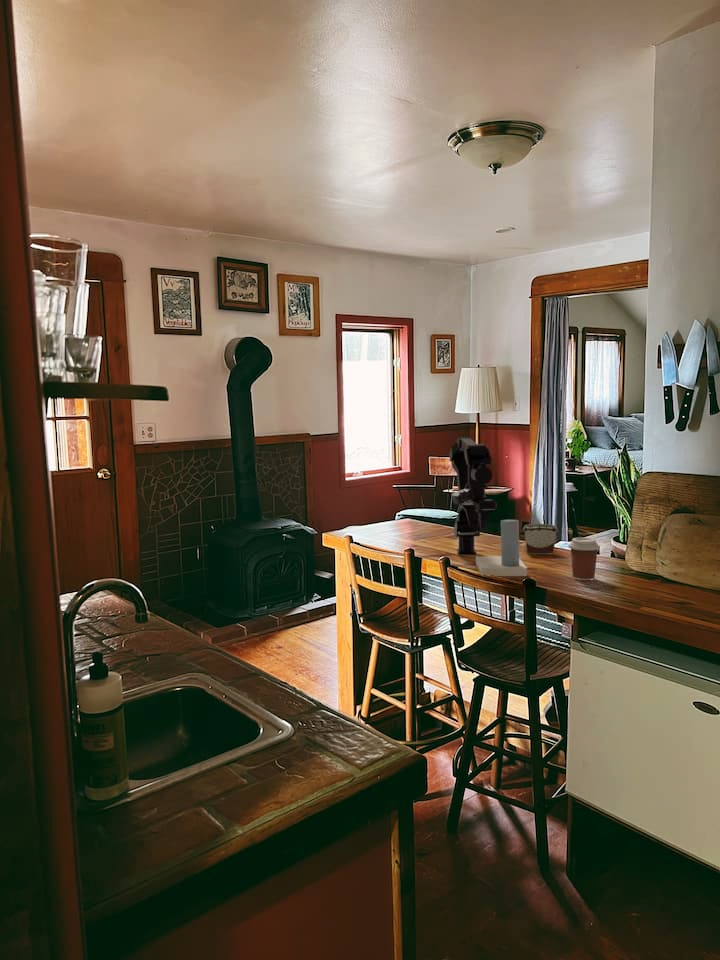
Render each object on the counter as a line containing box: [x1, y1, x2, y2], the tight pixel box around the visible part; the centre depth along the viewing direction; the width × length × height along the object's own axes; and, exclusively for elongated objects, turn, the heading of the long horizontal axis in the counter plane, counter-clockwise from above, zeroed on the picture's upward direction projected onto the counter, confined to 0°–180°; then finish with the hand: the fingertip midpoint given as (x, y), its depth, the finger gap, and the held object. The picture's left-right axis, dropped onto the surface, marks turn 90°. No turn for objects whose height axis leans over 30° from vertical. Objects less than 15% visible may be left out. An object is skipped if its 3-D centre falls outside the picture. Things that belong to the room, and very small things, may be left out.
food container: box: [522, 523, 559, 555], centre depth 255 cm, size 12×6×10 cm, turn 84°
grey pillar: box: [500, 519, 520, 566], centre depth 224 cm, size 6×6×14 cm
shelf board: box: [475, 555, 528, 577], centre depth 229 cm, size 18×14×2 cm
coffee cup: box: [568, 537, 601, 581], centre depth 215 cm, size 9×9×12 cm
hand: (476, 527), depth 240 cm, fingers open, 9 cm apart
